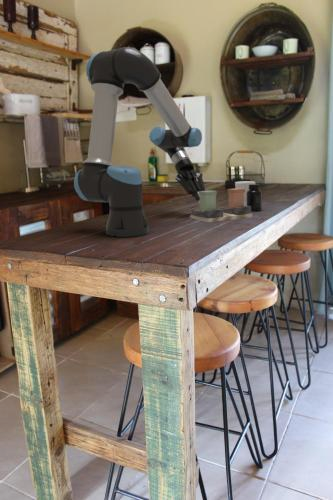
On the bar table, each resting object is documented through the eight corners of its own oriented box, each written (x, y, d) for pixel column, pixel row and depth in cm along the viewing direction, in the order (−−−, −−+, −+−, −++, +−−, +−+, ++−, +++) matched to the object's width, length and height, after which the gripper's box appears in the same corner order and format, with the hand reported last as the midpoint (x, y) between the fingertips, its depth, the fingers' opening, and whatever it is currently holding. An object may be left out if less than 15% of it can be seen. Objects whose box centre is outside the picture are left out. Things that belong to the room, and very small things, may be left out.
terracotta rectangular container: (234, 213, 180) (234, 189, 178) (227, 212, 184) (227, 189, 182) (244, 212, 183) (245, 188, 180) (238, 211, 187) (238, 188, 184)
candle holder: (231, 206, 216) (231, 182, 213) (249, 205, 219) (249, 181, 216) (240, 208, 207) (240, 183, 204) (258, 207, 210) (259, 182, 207)
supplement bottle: (260, 209, 202) (261, 183, 200) (262, 211, 196) (262, 184, 193) (245, 209, 203) (246, 183, 200) (247, 211, 196) (247, 185, 194)
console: (208, 222, 170) (208, 211, 169) (190, 218, 183) (189, 207, 182) (252, 217, 180) (252, 206, 179) (232, 213, 193) (232, 203, 191)
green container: (205, 216, 174) (205, 192, 172) (199, 215, 178) (199, 191, 176) (216, 215, 177) (216, 191, 174) (210, 213, 181) (210, 190, 178)
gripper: (192, 169, 196) (213, 209, 185) (166, 170, 190) (187, 212, 179) (198, 157, 190) (220, 198, 179) (172, 158, 184) (193, 201, 173)
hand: (203, 205), depth 179 cm, fingers closed
